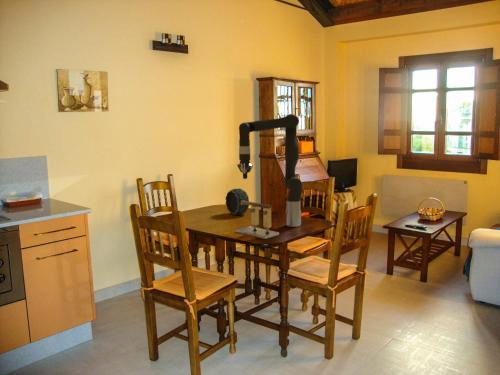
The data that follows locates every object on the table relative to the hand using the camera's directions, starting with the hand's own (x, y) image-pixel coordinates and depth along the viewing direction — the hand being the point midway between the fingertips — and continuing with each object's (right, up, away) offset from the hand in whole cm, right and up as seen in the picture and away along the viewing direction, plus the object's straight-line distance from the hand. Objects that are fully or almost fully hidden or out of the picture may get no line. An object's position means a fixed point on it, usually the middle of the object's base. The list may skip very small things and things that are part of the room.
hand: (245, 178), depth 312 cm
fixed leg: (+14, -35, -20) cm, 42 cm away
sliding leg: (+7, -34, -12) cm, 36 cm away
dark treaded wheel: (-6, -27, +45) cm, 53 cm away
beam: (+7, -18, -15) cm, 25 cm away
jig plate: (+8, -35, -13) cm, 38 cm away
